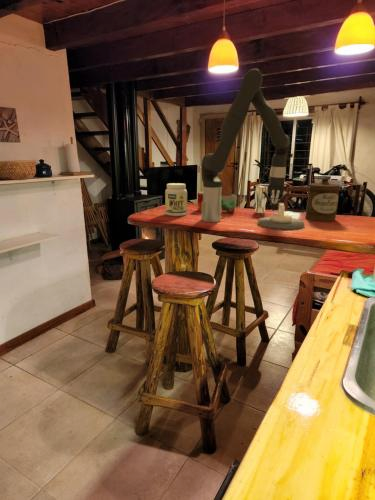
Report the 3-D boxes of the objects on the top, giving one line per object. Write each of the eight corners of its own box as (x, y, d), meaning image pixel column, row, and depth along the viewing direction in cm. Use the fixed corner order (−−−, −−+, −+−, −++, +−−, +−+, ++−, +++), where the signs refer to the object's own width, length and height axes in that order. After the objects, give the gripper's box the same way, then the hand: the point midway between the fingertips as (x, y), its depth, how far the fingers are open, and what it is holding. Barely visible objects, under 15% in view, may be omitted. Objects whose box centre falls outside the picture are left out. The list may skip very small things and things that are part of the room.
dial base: (271, 230, 143) (272, 227, 143) (250, 220, 164) (250, 217, 163) (313, 228, 149) (314, 224, 148) (287, 218, 169) (288, 215, 169)
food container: (229, 214, 179) (230, 196, 176) (220, 213, 183) (220, 196, 180) (240, 211, 188) (241, 194, 185) (231, 210, 192) (231, 193, 189)
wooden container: (312, 221, 162) (317, 178, 156) (301, 216, 177) (305, 175, 170) (340, 221, 163) (347, 178, 157) (327, 215, 177) (332, 175, 171)
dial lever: (292, 223, 150) (293, 209, 148) (270, 222, 152) (271, 208, 150) (289, 216, 167) (291, 203, 165) (270, 215, 169) (271, 202, 167)
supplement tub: (166, 216, 173) (165, 185, 168) (164, 212, 184) (164, 183, 179) (188, 216, 174) (188, 185, 169) (185, 212, 186) (185, 182, 181)
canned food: (206, 212, 186) (207, 193, 183) (194, 210, 190) (195, 192, 187) (212, 210, 193) (213, 191, 189) (201, 208, 197) (201, 190, 193)
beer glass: (259, 213, 182) (261, 187, 177) (251, 211, 188) (253, 186, 183) (268, 212, 185) (270, 186, 180) (260, 210, 191) (262, 185, 186)
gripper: (263, 176, 157) (260, 210, 162) (291, 177, 154) (286, 212, 159) (264, 174, 164) (260, 208, 169) (290, 176, 161) (286, 210, 166)
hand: (273, 210), depth 164 cm, fingers closed
